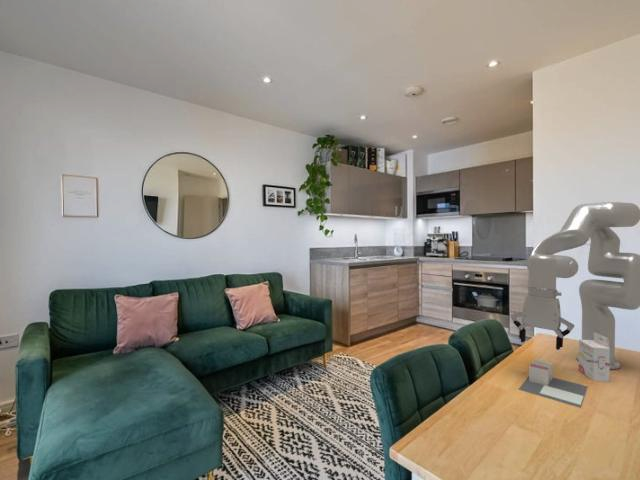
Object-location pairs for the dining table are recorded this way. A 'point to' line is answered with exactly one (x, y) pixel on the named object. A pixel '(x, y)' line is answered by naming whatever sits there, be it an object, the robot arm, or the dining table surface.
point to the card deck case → (540, 372)
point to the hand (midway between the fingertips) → (540, 345)
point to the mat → (557, 391)
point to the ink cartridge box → (595, 358)
